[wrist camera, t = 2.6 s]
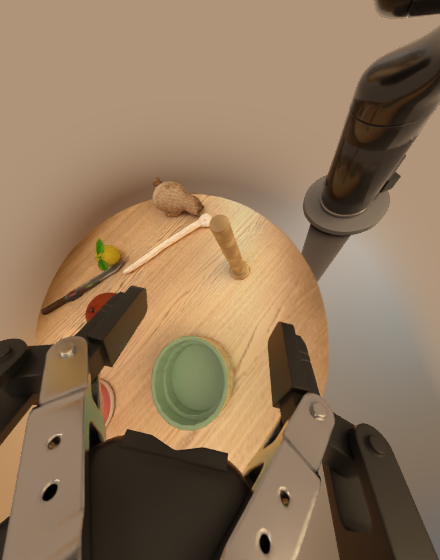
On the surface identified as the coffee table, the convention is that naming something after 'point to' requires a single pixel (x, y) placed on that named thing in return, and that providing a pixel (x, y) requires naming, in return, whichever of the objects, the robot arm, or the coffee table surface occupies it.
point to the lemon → (106, 255)
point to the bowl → (192, 382)
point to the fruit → (97, 304)
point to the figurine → (175, 199)
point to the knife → (82, 288)
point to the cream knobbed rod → (170, 241)
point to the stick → (229, 246)
